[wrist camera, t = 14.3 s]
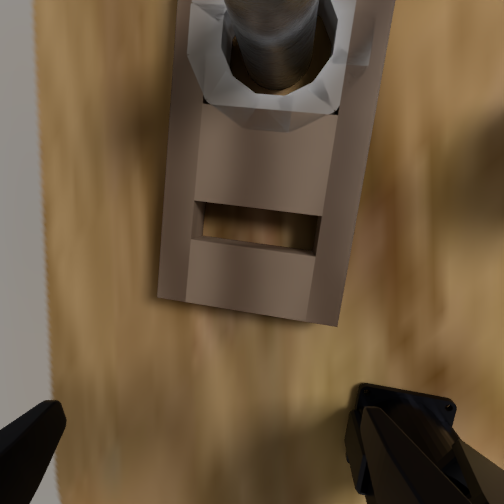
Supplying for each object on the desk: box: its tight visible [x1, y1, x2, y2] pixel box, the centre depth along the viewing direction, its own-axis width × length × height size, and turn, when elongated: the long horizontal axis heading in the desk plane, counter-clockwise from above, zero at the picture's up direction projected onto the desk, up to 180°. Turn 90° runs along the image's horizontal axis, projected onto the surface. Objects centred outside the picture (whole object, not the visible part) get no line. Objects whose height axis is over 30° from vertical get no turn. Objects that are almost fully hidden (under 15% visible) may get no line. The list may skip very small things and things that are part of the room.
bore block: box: [157, 0, 395, 327], centre depth 19 cm, size 12×22×2 cm, turn 173°
